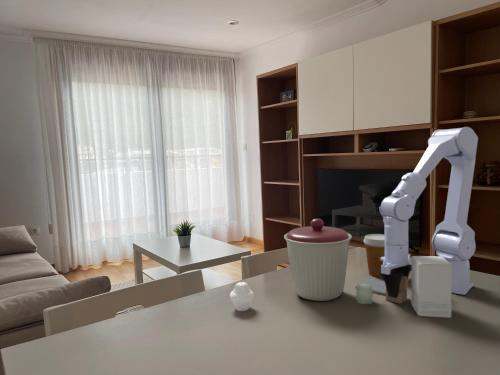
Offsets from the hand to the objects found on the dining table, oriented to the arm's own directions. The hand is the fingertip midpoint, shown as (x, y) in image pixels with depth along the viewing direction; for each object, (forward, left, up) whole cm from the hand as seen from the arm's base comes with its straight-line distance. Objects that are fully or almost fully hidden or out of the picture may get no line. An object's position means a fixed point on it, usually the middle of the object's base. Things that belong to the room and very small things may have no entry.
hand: (396, 294), depth 98 cm
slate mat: (-5, -8, -1) cm, 9 cm away
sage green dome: (+6, -6, -2) cm, 9 cm away
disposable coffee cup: (-17, -12, -2) cm, 21 cm away
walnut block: (0, 0, -1) cm, 1 cm away
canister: (+9, -18, -2) cm, 20 cm away
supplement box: (+2, +9, -2) cm, 9 cm away
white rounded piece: (+29, -28, -2) cm, 40 cm away
